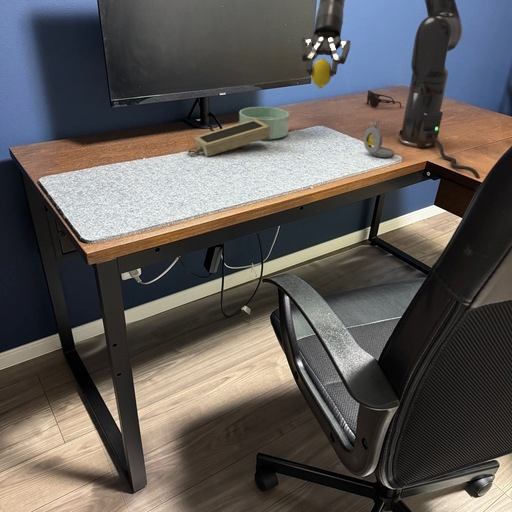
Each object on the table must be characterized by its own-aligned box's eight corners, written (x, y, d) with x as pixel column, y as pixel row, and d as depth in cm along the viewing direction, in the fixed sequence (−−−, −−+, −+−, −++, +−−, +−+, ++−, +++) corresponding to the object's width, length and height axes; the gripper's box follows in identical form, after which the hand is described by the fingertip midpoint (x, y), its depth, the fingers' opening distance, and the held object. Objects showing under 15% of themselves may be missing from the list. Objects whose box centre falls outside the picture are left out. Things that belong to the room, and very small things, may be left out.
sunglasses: (361, 101, 182) (365, 88, 180) (390, 105, 185) (394, 92, 183) (372, 108, 173) (376, 94, 171) (402, 113, 176) (406, 99, 174)
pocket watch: (396, 153, 131) (403, 116, 126) (387, 162, 125) (394, 123, 120) (367, 147, 134) (373, 111, 129) (356, 155, 128) (362, 117, 123)
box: (273, 143, 130) (271, 125, 127) (196, 168, 122) (192, 149, 119) (257, 135, 136) (255, 117, 133) (184, 158, 128) (180, 140, 125)
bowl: (296, 137, 140) (298, 116, 137) (253, 143, 134) (254, 121, 131) (271, 124, 151) (273, 105, 148) (230, 129, 145) (230, 109, 142)
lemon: (329, 86, 139) (332, 57, 135) (330, 91, 134) (333, 60, 130) (310, 85, 140) (312, 56, 136) (310, 90, 135) (312, 59, 131)
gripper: (303, 10, 135) (294, 63, 131) (355, 13, 133) (348, 67, 129) (303, 30, 142) (295, 80, 138) (353, 32, 140) (346, 84, 136)
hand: (321, 73), depth 133 cm, fingers closed on lemon, 5 cm apart
